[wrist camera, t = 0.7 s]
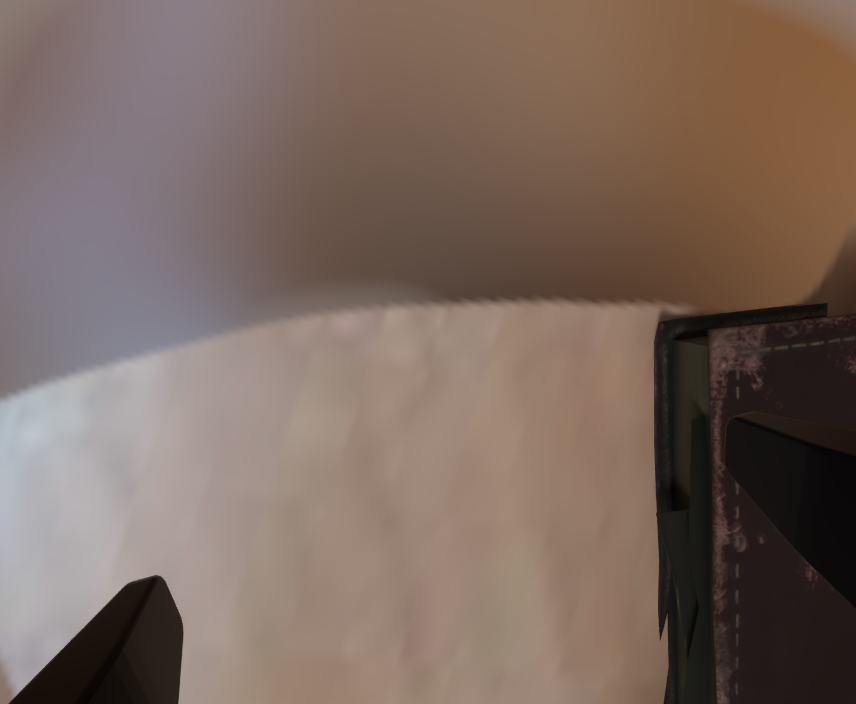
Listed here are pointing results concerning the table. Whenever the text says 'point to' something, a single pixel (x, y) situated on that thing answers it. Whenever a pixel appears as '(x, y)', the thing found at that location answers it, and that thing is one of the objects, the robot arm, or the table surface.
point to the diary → (746, 510)
